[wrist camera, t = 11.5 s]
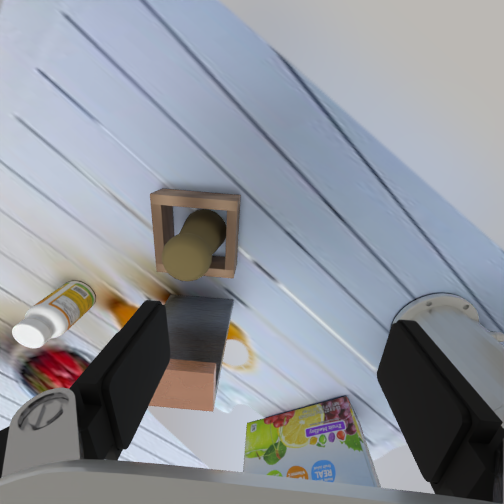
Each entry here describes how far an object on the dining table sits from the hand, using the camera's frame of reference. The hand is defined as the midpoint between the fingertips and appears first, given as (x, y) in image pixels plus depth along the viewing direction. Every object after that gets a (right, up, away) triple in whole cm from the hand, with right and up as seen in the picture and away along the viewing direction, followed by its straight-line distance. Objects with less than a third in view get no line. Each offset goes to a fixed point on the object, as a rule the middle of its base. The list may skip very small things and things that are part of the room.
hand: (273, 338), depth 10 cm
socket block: (-8, +7, +25) cm, 27 cm away
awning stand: (-9, -2, +29) cm, 30 cm away
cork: (-7, +7, +25) cm, 27 cm away
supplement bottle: (-29, -3, +30) cm, 42 cm away
